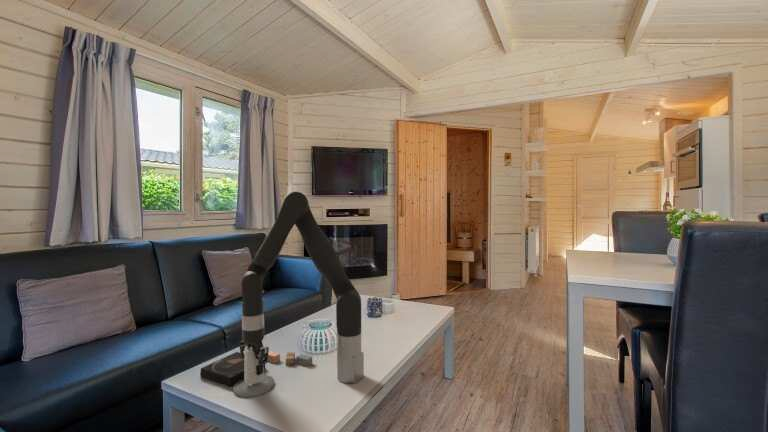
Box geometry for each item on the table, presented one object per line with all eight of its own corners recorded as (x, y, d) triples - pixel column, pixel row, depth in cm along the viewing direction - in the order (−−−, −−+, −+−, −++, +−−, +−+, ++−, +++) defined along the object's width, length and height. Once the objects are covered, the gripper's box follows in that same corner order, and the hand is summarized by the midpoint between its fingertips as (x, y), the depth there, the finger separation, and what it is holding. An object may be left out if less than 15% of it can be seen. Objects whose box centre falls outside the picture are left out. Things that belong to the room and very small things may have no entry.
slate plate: (282, 383, 129) (282, 380, 129) (249, 401, 117) (249, 398, 117) (257, 373, 136) (257, 371, 136) (224, 389, 125) (224, 387, 125)
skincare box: (246, 385, 123) (246, 352, 123) (243, 380, 127) (243, 347, 126) (264, 380, 127) (264, 347, 126) (261, 375, 130) (260, 343, 130)
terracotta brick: (279, 360, 148) (279, 353, 148) (274, 363, 145) (274, 356, 145) (270, 357, 151) (270, 350, 151) (264, 360, 149) (264, 353, 149)
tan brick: (293, 365, 144) (293, 358, 144) (285, 365, 143) (285, 358, 143) (294, 358, 150) (294, 352, 150) (287, 359, 149) (287, 352, 149)
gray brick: (312, 364, 145) (312, 357, 145) (307, 367, 142) (307, 359, 142) (301, 360, 148) (301, 354, 148) (296, 363, 145) (296, 356, 145)
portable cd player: (235, 360, 149) (235, 351, 149) (265, 369, 141) (265, 359, 141) (200, 378, 134) (199, 367, 134) (230, 388, 126) (230, 377, 126)
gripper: (275, 326, 125) (275, 373, 126) (249, 319, 133) (250, 363, 134) (257, 333, 119) (258, 382, 120) (231, 325, 127) (232, 371, 127)
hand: (254, 372), depth 127 cm, fingers closed on skincare box, 5 cm apart
